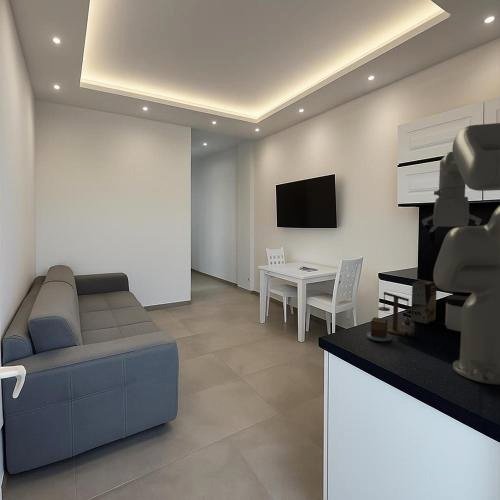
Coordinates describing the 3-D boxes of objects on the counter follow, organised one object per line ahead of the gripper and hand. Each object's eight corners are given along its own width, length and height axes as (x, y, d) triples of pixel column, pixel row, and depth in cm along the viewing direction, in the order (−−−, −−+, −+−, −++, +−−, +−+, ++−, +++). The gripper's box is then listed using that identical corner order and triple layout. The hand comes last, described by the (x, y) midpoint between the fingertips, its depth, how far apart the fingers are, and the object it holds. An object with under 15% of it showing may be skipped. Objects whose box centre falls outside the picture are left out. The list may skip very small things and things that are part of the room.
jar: (473, 333, 114) (475, 301, 113) (447, 330, 118) (449, 299, 117) (467, 326, 123) (469, 295, 122) (443, 323, 126) (444, 294, 125)
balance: (412, 337, 111) (413, 296, 110) (376, 331, 118) (377, 292, 116) (413, 333, 115) (414, 293, 114) (379, 328, 121) (379, 290, 120)
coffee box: (426, 324, 125) (428, 284, 124) (410, 320, 130) (411, 282, 129) (435, 319, 131) (437, 281, 130) (419, 316, 136) (421, 279, 135)
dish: (389, 344, 105) (389, 340, 104) (364, 340, 109) (364, 336, 109) (392, 337, 111) (392, 333, 111) (369, 333, 116) (369, 329, 115)
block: (384, 338, 107) (385, 322, 106) (370, 335, 109) (371, 320, 109) (387, 334, 111) (387, 319, 110) (373, 332, 113) (374, 317, 113)
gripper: (421, 194, 108) (420, 243, 109) (484, 191, 98) (481, 245, 100) (423, 195, 114) (421, 242, 115) (482, 192, 105) (479, 243, 106)
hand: (449, 243), depth 108 cm, fingers open, 9 cm apart
